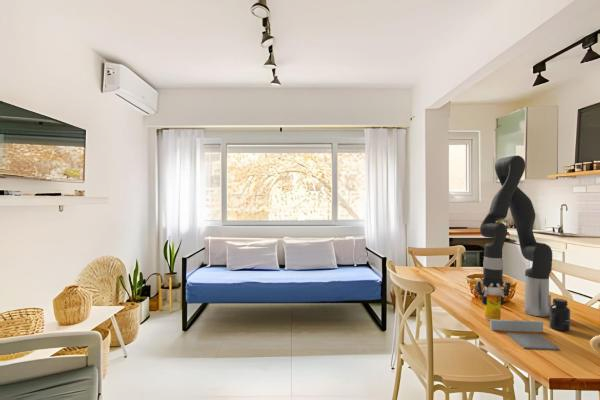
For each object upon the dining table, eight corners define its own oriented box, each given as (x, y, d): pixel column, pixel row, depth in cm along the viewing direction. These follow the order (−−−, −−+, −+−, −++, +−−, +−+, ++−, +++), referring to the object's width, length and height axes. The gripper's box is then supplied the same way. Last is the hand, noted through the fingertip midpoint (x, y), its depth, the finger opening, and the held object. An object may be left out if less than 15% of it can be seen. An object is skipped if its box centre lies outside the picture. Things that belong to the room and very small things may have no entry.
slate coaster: (539, 336, 134) (539, 334, 134) (559, 350, 122) (559, 348, 122) (507, 334, 135) (507, 333, 135) (523, 348, 123) (523, 346, 123)
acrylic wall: (541, 331, 139) (541, 321, 139) (543, 332, 138) (543, 322, 138) (490, 329, 141) (490, 319, 141) (491, 330, 140) (491, 320, 140)
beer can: (494, 322, 148) (495, 288, 148) (481, 318, 153) (482, 285, 153) (503, 320, 151) (503, 286, 150) (490, 316, 156) (490, 283, 156)
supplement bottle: (571, 333, 137) (571, 303, 137) (550, 329, 141) (550, 300, 140) (568, 327, 143) (569, 299, 143) (548, 324, 146) (549, 296, 146)
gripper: (505, 265, 155) (505, 302, 155) (472, 265, 156) (472, 301, 156) (514, 269, 147) (514, 308, 147) (479, 268, 148) (479, 306, 149)
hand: (492, 304), depth 152 cm, fingers closed on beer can, 6 cm apart
